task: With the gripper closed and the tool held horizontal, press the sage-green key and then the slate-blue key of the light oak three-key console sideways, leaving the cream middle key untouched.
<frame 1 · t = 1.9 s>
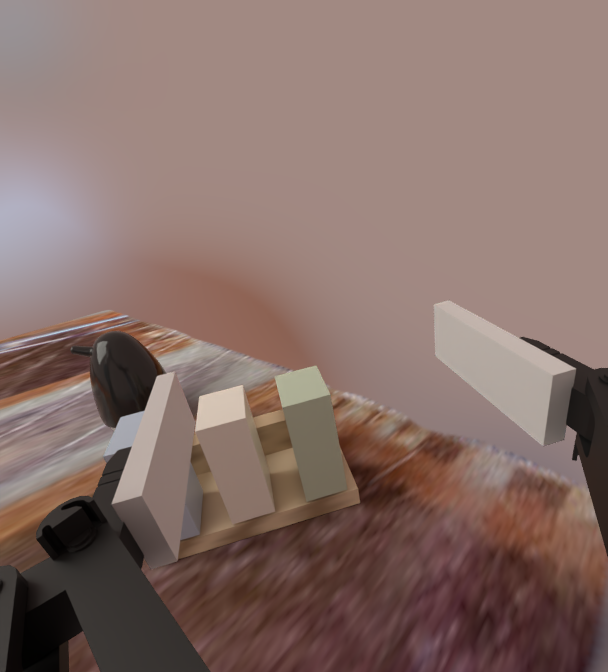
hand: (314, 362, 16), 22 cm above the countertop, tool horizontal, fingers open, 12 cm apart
key console: (257, 511, 36), on the countertop
slate key: (160, 476, 32), point 8 cm above the countertop, slide at 0.0 cm
sage key: (311, 433, 33), point 8 cm above the countertop, slide at 0.0 cm
cream key: (237, 454, 32), point 8 cm above the countertop, slide at 0.0 cm
pump dispenser: (149, 424, 53), on the countertop
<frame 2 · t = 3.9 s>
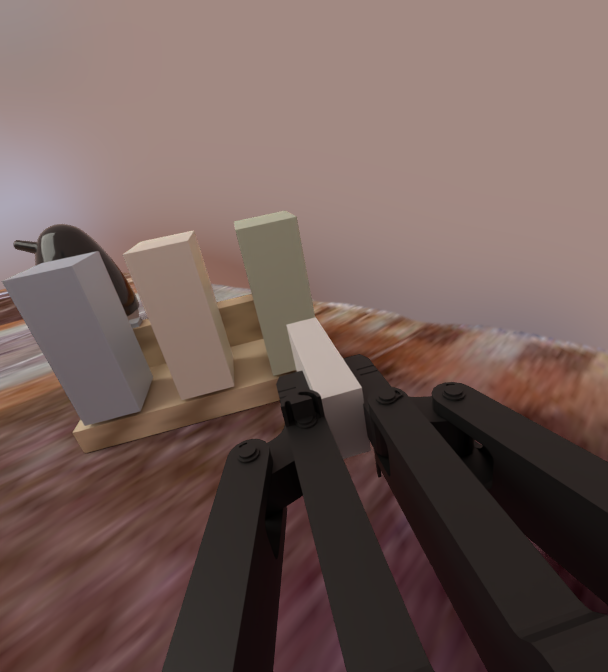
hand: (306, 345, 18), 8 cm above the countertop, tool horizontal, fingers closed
key console: (217, 399, 30), on the countertop
slate key: (91, 338, 26), point 8 cm above the countertop, slide at 0.0 cm
sage key: (279, 293, 27), point 8 cm above the countertop, slide at 0.0 cm
cream key: (187, 315, 26), point 8 cm above the countertop, slide at 0.0 cm
pump dispenser: (109, 343, 47), on the countertop
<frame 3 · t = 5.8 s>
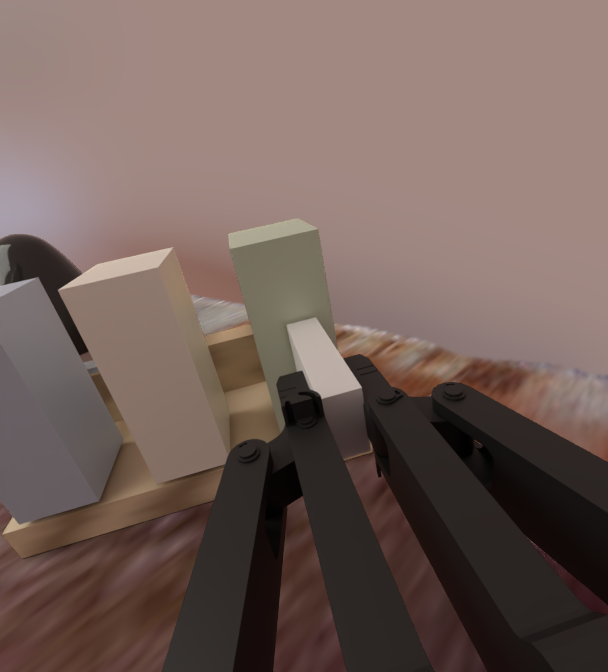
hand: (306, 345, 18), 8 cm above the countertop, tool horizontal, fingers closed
key console: (208, 470, 22), on the countertop
slate key: (28, 400, 18), point 8 cm above the countertop, slide at 0.0 cm
sage key: (290, 329, 20), point 8 cm above the countertop, slide at 0.4 cm, touching gripper
cream key: (165, 364, 19), point 8 cm above the countertop, slide at 0.0 cm
pump dispenser: (83, 373, 40), on the countertop
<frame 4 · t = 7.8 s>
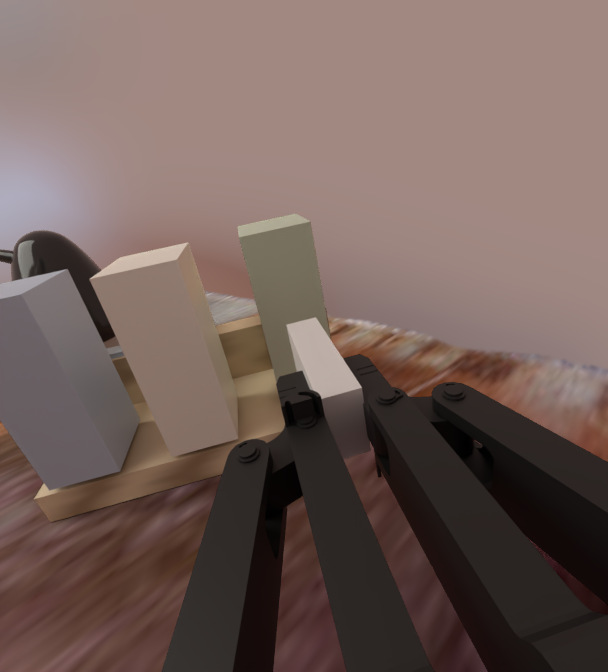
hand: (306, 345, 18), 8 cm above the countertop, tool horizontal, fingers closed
key console: (217, 448, 24), on the countertop
slate key: (58, 379, 20), point 8 cm above the countertop, slide at 0.0 cm
sage key: (288, 307, 24), point 8 cm above the countertop, slide at 2.6 cm
cream key: (180, 349, 21), point 8 cm above the countertop, slide at 0.0 cm
pump dispenser: (99, 363, 42), on the countertop
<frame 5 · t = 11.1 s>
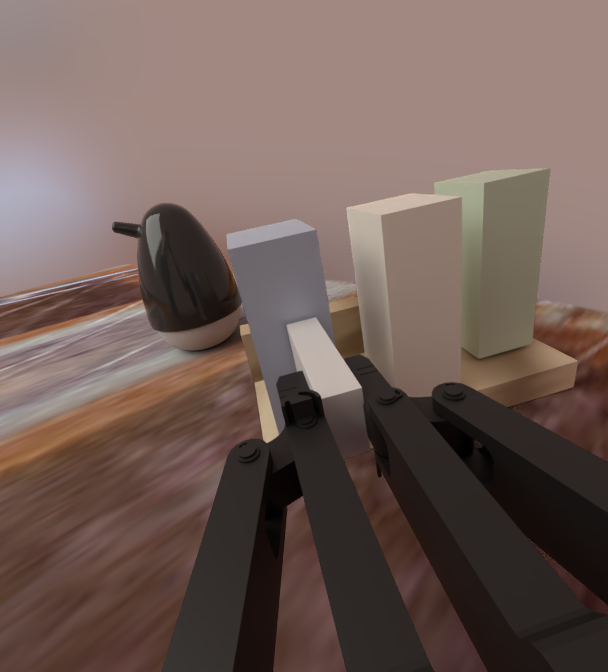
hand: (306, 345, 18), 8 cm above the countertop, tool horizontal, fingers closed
key console: (411, 407, 24), on the countertop
slate key: (288, 330, 20), point 8 cm above the countertop, slide at 0.2 cm, touching gripper
sage key: (483, 264, 24), point 8 cm above the countertop, slide at 2.6 cm
cream key: (404, 301, 21), point 8 cm above the countertop, slide at 0.0 cm
pump dispenser: (206, 341, 41), on the countertop
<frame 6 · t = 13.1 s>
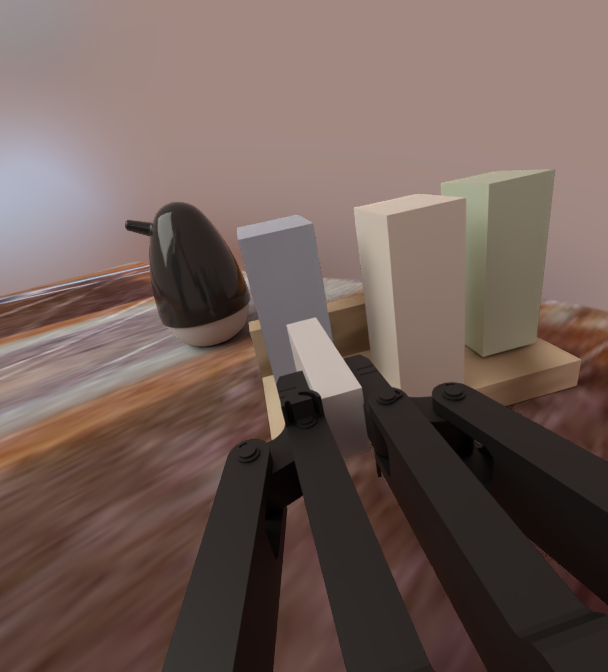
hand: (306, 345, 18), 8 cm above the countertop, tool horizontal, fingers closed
key console: (415, 403, 25), on the countertop
slate key: (290, 312, 23), point 8 cm above the countertop, slide at 2.6 cm
sage key: (489, 263, 24), point 8 cm above the countertop, slide at 2.6 cm
cream key: (409, 299, 21), point 8 cm above the countertop, slide at 0.0 cm
pump dispenser: (215, 337, 42), on the countertop
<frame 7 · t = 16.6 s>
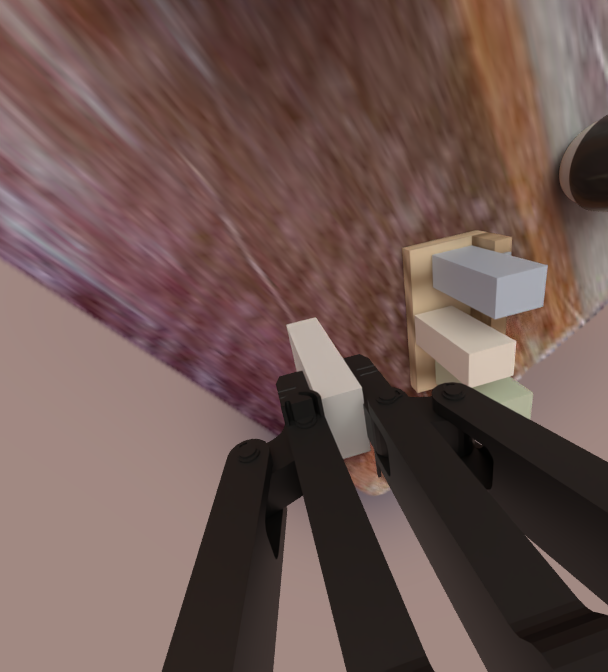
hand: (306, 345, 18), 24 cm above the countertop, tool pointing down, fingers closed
key console: (424, 318, 47), on the countertop
slate key: (481, 278, 37), point 8 cm above the countertop, slide at 2.6 cm
sage key: (478, 387, 43), point 8 cm above the countertop, slide at 2.6 cm
cream key: (459, 342, 40), point 8 cm above the countertop, slide at 0.0 cm
pump dispenser: (579, 163, 43), on the countertop
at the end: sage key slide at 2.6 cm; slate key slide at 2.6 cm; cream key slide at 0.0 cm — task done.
